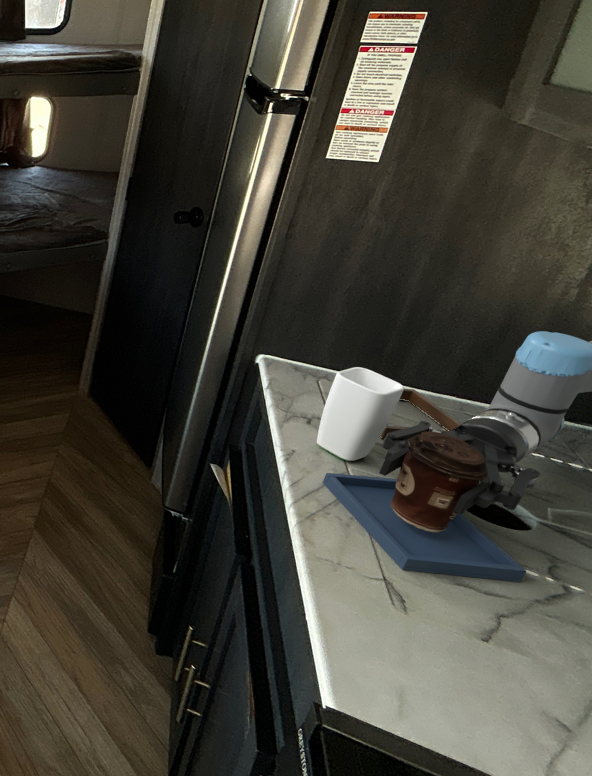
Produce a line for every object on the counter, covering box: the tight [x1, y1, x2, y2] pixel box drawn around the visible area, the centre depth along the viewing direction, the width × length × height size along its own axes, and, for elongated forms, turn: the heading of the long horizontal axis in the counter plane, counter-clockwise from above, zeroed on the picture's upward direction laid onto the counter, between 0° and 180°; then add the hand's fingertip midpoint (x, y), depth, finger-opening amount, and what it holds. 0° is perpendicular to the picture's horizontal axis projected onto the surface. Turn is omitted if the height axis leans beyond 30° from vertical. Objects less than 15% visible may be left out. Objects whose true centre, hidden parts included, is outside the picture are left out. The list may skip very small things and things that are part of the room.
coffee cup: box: [391, 431, 488, 532], centre depth 92 cm, size 9×8×13 cm
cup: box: [316, 366, 405, 462], centre depth 109 cm, size 7×7×15 cm
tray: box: [322, 472, 527, 583], centre depth 95 cm, size 18×15×2 cm
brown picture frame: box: [379, 388, 462, 440], centre depth 120 cm, size 15×15×2 cm
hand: (421, 485), depth 89 cm, fingers closed on coffee cup, 8 cm apart
